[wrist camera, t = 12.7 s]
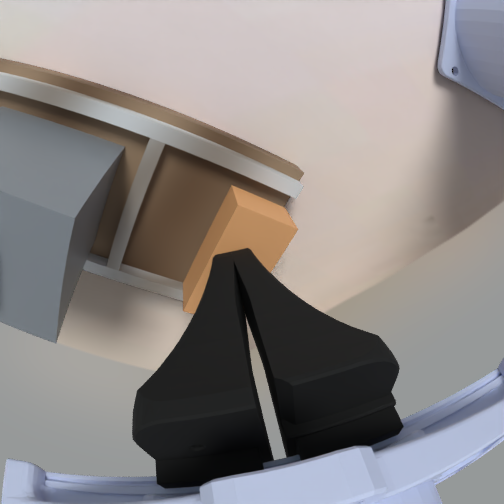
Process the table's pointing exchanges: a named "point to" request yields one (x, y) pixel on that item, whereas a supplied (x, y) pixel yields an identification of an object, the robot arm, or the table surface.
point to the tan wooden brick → (239, 238)
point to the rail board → (150, 173)
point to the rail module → (47, 216)
